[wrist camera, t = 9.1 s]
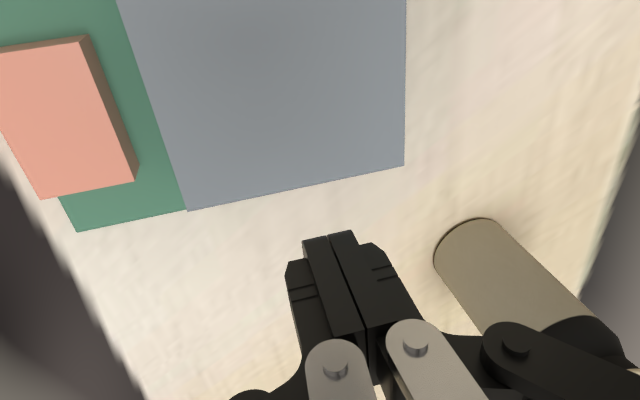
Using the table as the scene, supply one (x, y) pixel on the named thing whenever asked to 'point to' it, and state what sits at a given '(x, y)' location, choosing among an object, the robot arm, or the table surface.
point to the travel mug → (518, 290)
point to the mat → (130, 97)
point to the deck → (271, 90)
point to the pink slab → (63, 117)
